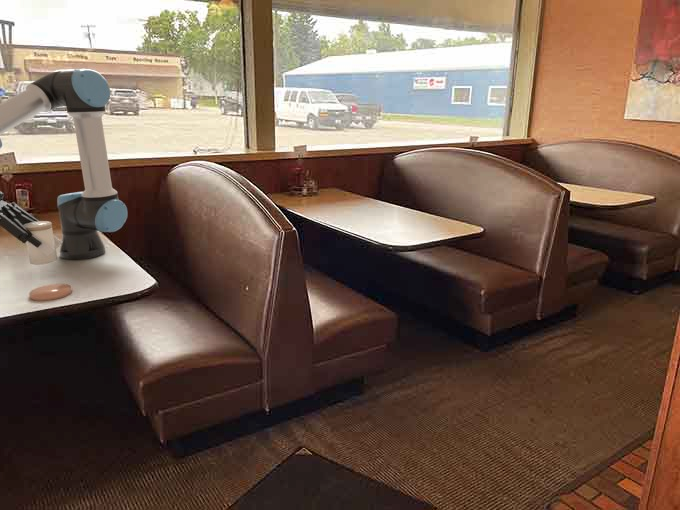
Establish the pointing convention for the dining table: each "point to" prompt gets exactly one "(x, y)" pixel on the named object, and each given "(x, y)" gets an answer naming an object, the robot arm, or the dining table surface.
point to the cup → (45, 233)
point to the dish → (50, 292)
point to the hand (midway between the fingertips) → (55, 248)
